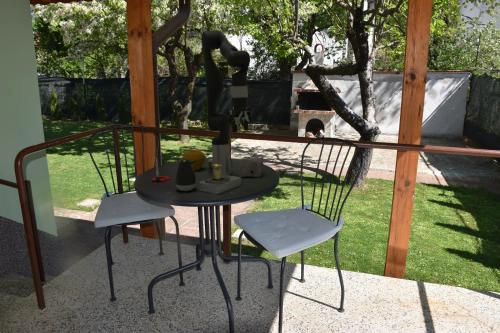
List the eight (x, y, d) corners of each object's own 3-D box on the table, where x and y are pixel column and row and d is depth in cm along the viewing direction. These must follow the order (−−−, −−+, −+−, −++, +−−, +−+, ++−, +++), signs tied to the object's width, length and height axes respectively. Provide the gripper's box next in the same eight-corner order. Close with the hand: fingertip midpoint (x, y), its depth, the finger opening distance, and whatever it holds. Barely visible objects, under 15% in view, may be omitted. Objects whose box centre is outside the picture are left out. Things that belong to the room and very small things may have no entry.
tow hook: (156, 178, 223) (149, 181, 214) (155, 154, 220) (148, 157, 211) (171, 178, 222) (165, 182, 213) (170, 154, 219) (164, 157, 210)
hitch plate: (222, 181, 211) (222, 172, 210) (241, 185, 204) (241, 175, 203) (198, 190, 197) (198, 180, 195) (217, 194, 190) (217, 184, 189)
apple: (194, 166, 247) (193, 147, 244) (210, 168, 239) (209, 149, 237) (178, 170, 237) (177, 151, 234) (195, 173, 229) (194, 153, 227)
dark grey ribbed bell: (198, 191, 195) (197, 160, 191) (176, 193, 192) (174, 162, 188) (195, 185, 204) (193, 156, 201) (174, 188, 202) (172, 157, 198)
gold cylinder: (217, 186, 202) (216, 162, 199) (224, 188, 199) (224, 163, 196) (210, 189, 198) (209, 164, 195) (218, 190, 195) (217, 165, 192)
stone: (237, 178, 217) (236, 159, 215) (241, 172, 229) (241, 155, 226) (261, 178, 215) (261, 160, 213) (264, 173, 226) (264, 155, 224)
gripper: (242, 94, 195) (243, 128, 199) (223, 97, 184) (224, 132, 188) (255, 95, 191) (255, 129, 195) (236, 97, 180) (237, 134, 183)
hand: (240, 131), depth 191 cm, fingers open, 8 cm apart
